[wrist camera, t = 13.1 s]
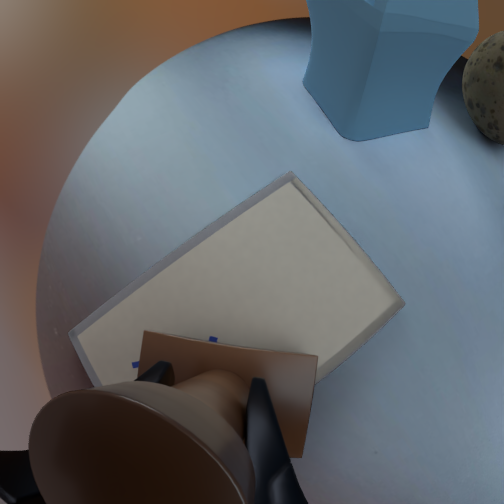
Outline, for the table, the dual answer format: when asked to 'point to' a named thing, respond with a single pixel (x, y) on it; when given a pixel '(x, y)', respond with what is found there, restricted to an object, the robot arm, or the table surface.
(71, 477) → the wooden rubber stamp
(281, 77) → the table surface
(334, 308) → the board
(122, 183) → the table surface
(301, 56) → the table surface
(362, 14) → the vase
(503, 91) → the decorative egg
